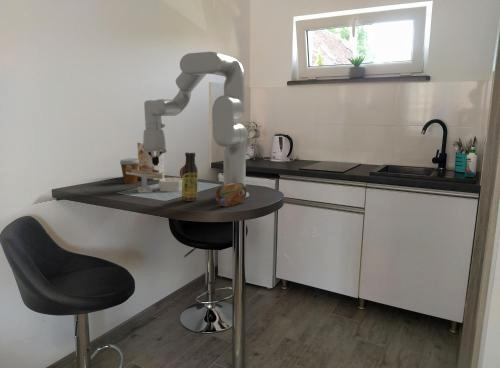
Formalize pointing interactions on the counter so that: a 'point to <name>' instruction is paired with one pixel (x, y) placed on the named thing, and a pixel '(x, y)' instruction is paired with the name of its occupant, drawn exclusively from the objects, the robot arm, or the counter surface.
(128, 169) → the birch lever
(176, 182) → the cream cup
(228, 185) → the sandwich
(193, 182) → the sauce bottle
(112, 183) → the counter surface
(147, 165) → the coffeecake box
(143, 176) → the lever stand
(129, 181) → the brown food tub
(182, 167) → the onion
